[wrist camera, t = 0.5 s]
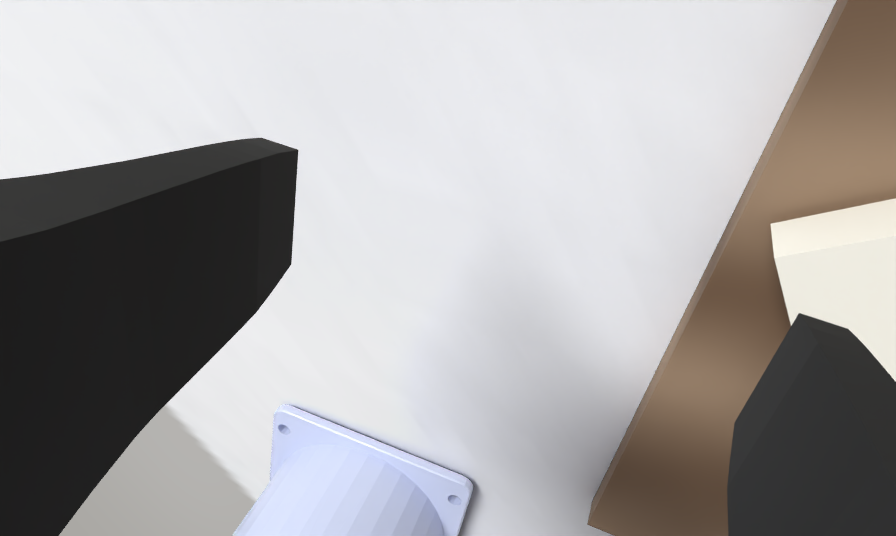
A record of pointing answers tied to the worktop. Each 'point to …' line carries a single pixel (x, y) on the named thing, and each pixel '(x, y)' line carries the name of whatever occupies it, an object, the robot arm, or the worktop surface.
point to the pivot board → (755, 282)
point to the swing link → (843, 272)
